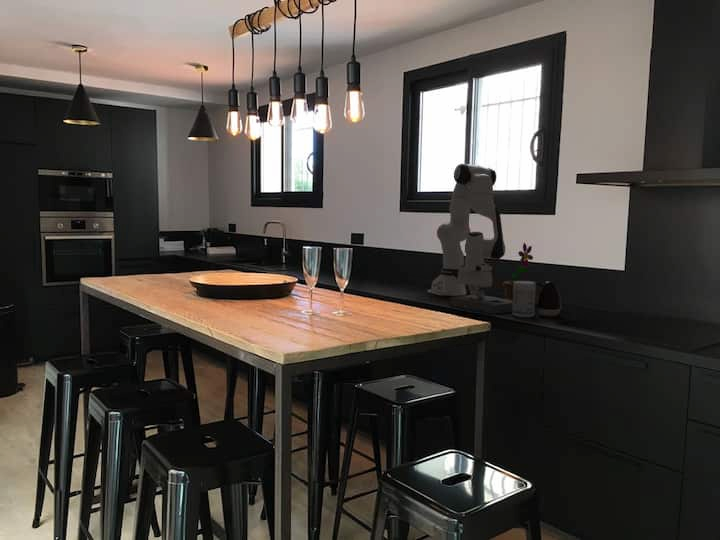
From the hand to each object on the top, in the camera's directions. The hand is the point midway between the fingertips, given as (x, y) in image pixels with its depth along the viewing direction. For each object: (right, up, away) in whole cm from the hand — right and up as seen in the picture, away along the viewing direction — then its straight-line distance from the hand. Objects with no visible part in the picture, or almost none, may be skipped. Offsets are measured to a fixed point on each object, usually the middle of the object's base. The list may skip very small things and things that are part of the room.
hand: (473, 294), depth 281 cm
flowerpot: (+23, -5, +8) cm, 25 cm away
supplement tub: (+17, -8, -25) cm, 31 cm away
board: (+4, -6, -6) cm, 9 cm away
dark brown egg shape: (+28, -8, -25) cm, 38 cm away
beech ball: (+2, 0, -4) cm, 5 cm away
